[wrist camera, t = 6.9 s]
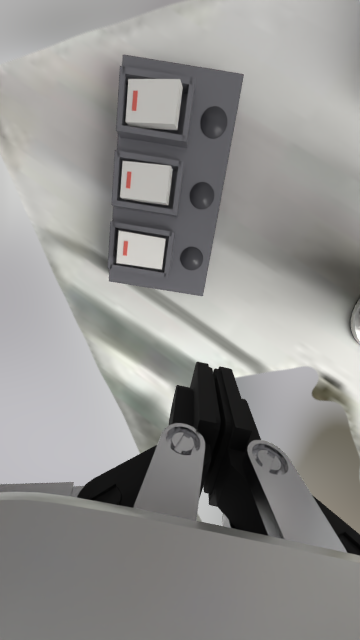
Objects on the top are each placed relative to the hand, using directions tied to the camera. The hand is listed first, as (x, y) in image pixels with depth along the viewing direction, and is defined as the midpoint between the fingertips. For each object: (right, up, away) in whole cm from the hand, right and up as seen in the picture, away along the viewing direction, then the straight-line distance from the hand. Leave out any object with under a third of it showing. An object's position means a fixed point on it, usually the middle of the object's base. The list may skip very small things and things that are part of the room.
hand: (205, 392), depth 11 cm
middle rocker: (-5, +20, +18) cm, 27 cm away
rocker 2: (-7, +13, +20) cm, 25 cm away
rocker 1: (-4, +28, +15) cm, 32 cm away
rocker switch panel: (-3, +21, +22) cm, 31 cm away
